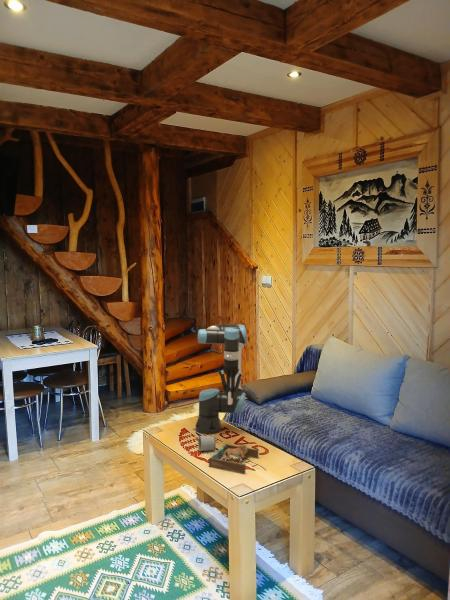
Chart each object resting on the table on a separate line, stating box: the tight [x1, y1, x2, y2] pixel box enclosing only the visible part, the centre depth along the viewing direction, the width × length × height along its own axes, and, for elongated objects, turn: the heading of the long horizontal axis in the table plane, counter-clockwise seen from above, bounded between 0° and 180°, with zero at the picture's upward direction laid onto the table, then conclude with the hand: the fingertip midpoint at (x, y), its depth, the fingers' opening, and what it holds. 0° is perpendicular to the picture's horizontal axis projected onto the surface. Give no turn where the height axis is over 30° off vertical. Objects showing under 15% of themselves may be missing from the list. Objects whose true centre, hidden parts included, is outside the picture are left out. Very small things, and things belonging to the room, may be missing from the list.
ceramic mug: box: [197, 435, 217, 452], centre depth 244 cm, size 11×8×8 cm
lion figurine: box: [221, 444, 248, 463], centre depth 231 cm, size 15×5×9 cm
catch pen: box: [208, 443, 259, 474], centre depth 229 cm, size 20×18×4 cm
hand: (230, 403), depth 242 cm, fingers closed
